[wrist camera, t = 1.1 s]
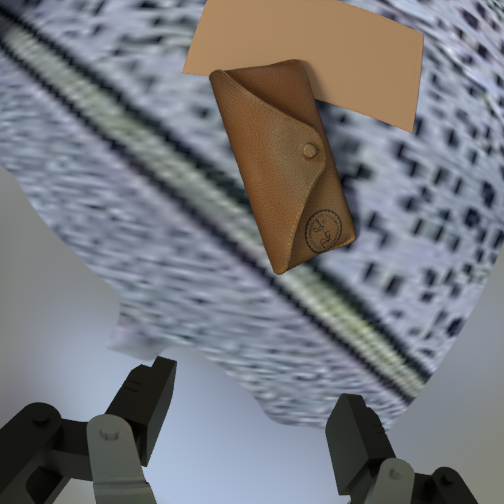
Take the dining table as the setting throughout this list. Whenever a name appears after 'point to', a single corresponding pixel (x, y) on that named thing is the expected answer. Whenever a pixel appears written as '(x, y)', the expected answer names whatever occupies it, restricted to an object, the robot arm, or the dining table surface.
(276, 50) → the mat
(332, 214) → the sunglasses case
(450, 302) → the dining table surface
